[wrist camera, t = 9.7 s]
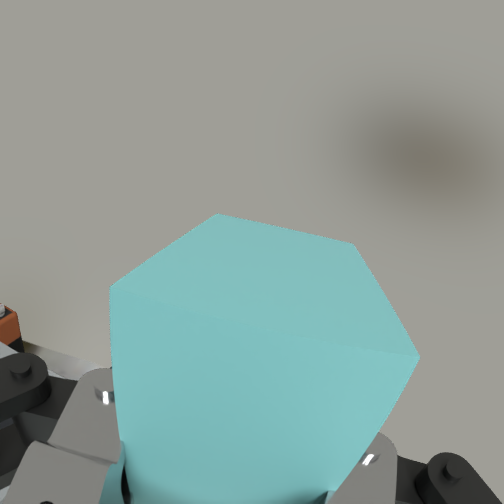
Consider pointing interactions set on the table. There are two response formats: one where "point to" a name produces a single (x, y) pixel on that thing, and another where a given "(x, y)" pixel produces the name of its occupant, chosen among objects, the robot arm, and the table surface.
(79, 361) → the table surface
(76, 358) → the table surface
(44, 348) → the table surface
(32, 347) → the table surface
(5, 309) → the battery
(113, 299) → the teal rectangular block
